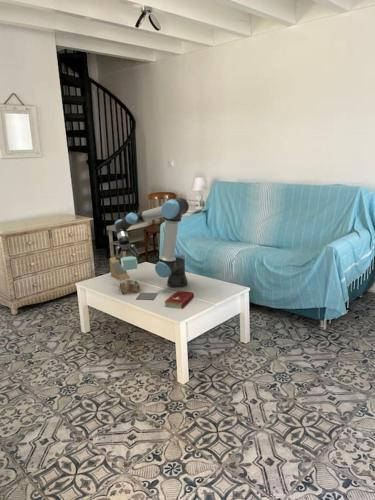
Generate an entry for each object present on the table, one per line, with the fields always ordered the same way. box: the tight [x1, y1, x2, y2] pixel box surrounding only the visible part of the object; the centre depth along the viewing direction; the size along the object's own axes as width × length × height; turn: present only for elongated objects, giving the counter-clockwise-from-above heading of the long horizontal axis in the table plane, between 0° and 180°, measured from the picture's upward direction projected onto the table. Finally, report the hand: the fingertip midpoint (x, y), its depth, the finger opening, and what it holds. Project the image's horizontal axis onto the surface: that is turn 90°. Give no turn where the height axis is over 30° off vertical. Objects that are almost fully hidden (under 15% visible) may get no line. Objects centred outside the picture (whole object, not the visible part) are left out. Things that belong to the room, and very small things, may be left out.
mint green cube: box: [121, 255, 138, 271], centre depth 276 cm, size 9×9×7 cm
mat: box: [135, 292, 159, 301], centre depth 269 cm, size 12×12×1 cm
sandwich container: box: [109, 255, 131, 281], centre depth 310 cm, size 9×15×15 cm, turn 41°
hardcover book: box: [164, 289, 195, 310], centre depth 258 cm, size 12×21×4 cm, turn 158°
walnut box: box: [119, 279, 141, 295], centre depth 280 cm, size 12×11×7 cm
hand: (129, 266), depth 273 cm, fingers closed on mint green cube, 9 cm apart
